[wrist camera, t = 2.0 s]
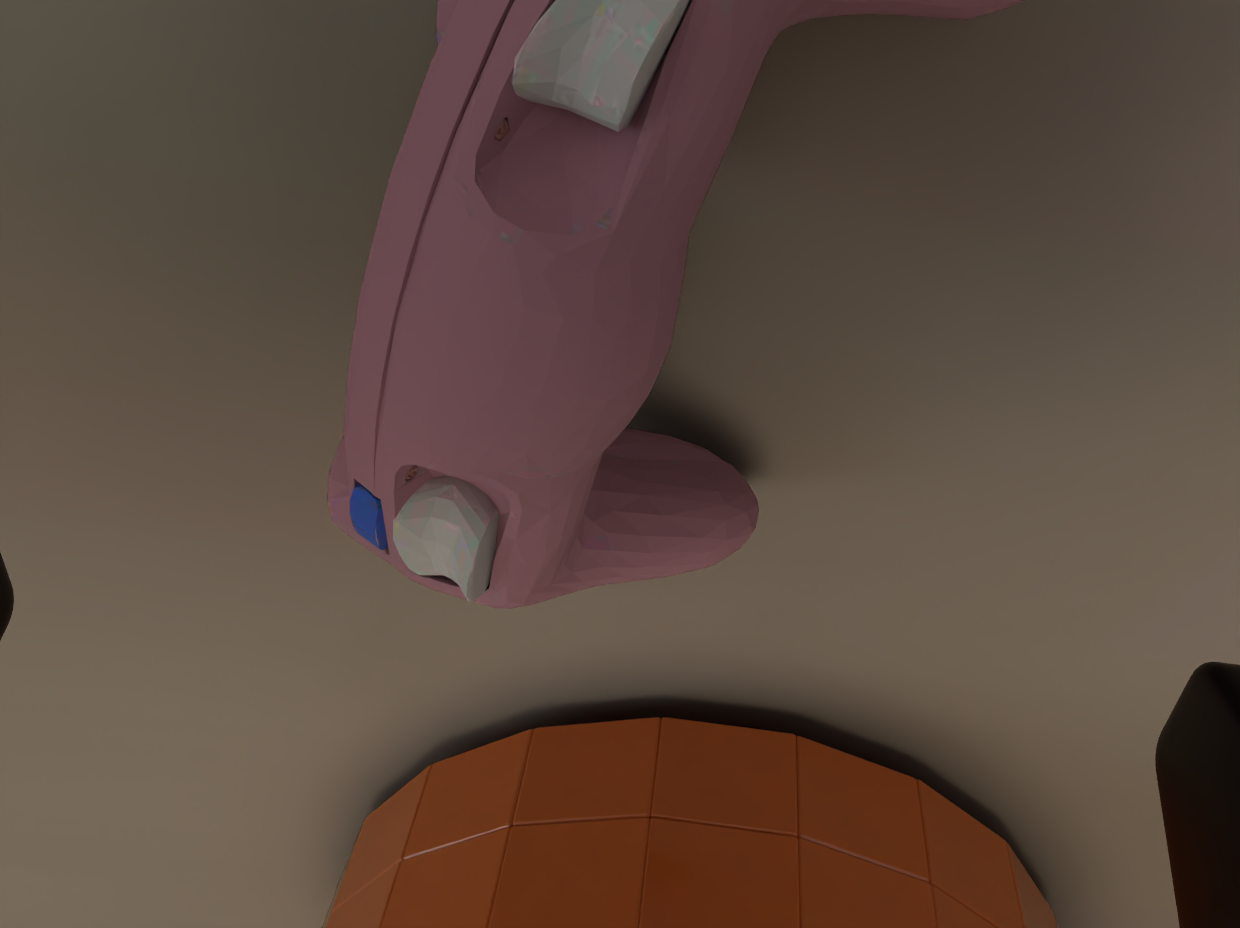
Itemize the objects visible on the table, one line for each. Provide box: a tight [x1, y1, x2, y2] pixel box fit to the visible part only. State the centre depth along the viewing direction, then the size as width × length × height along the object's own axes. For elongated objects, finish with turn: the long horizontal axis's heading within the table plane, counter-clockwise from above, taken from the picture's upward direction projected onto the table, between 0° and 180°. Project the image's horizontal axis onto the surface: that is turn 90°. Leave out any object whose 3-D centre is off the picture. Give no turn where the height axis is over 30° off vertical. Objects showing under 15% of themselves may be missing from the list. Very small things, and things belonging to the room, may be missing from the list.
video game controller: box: [327, 0, 1024, 608], centre depth 13 cm, size 10×5×7 cm, turn 162°
